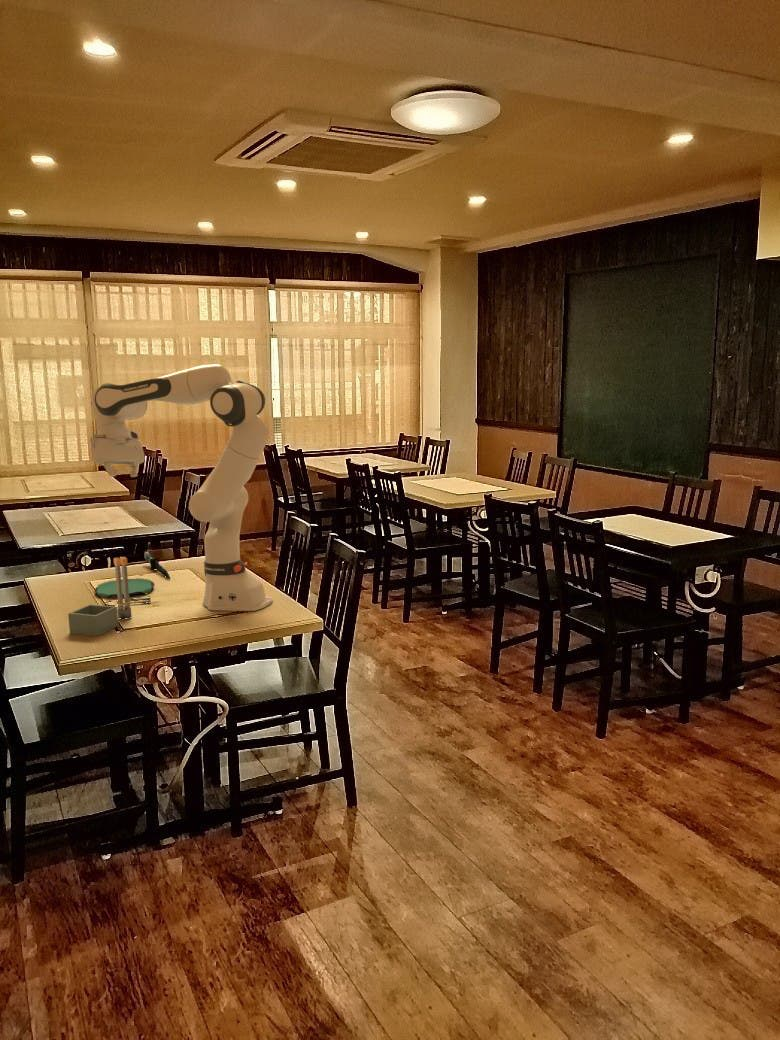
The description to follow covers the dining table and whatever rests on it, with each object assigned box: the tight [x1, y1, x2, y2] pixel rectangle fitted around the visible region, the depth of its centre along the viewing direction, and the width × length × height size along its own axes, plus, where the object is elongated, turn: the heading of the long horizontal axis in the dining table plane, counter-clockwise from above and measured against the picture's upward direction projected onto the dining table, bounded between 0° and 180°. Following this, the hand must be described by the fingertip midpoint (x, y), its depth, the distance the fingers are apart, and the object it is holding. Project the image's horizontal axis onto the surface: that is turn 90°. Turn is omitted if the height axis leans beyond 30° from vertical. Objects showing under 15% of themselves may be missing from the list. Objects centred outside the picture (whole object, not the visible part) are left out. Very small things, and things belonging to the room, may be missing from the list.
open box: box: [67, 603, 119, 637], centre depth 235 cm, size 10×10×6 cm
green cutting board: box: [94, 577, 155, 603], centre depth 273 cm, size 20×30×2 cm, turn 18°
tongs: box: [113, 556, 133, 619], centre depth 245 cm, size 4×4×19 cm
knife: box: [143, 550, 171, 580], centre depth 302 cm, size 31×3×4 cm, turn 30°
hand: (123, 476), depth 259 cm, fingers open, 8 cm apart
